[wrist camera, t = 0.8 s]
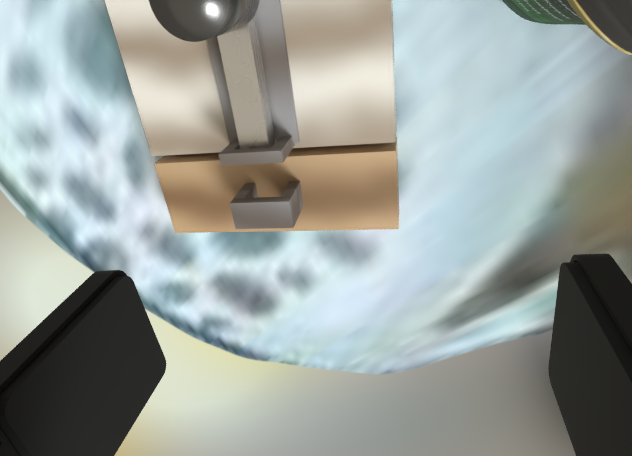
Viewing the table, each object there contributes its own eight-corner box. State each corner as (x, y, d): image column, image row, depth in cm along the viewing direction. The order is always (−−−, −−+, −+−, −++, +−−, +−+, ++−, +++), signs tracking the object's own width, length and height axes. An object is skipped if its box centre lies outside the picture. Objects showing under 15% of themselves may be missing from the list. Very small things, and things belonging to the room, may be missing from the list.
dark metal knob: (190, -64, 25) (128, -75, 20) (257, -75, 25) (213, -90, 19) (236, 154, 32) (199, 193, 26) (291, 151, 31) (265, 191, 25)
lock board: (108, -79, 29) (38, -92, 24) (387, -131, 25) (382, -160, 20) (190, 215, 39) (155, 254, 34) (398, 210, 35) (397, 253, 30)
